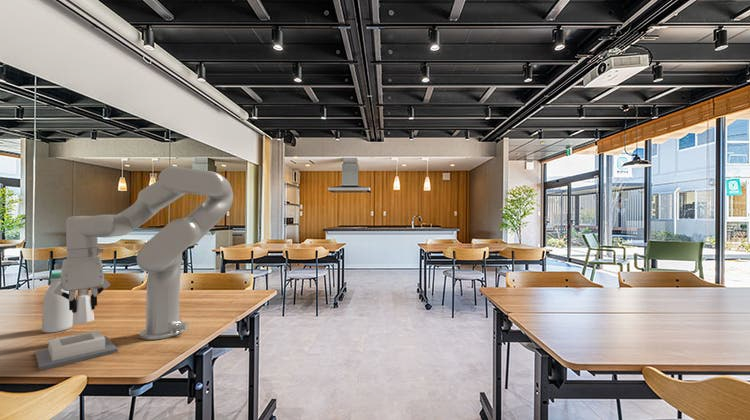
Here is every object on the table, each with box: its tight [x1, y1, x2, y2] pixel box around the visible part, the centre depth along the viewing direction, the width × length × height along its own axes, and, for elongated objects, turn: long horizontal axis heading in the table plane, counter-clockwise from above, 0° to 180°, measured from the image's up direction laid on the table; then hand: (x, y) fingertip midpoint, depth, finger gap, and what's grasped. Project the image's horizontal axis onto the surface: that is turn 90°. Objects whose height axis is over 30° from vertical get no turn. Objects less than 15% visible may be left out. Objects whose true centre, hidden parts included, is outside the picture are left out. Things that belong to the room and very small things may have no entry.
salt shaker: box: [72, 288, 95, 325], centre depth 105 cm, size 5×5×11 cm
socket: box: [34, 329, 119, 372], centre depth 94 cm, size 16×16×4 cm
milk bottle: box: [41, 271, 74, 333], centre depth 115 cm, size 8×8×20 cm
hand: (83, 309), depth 105 cm, fingers closed on salt shaker, 3 cm apart
